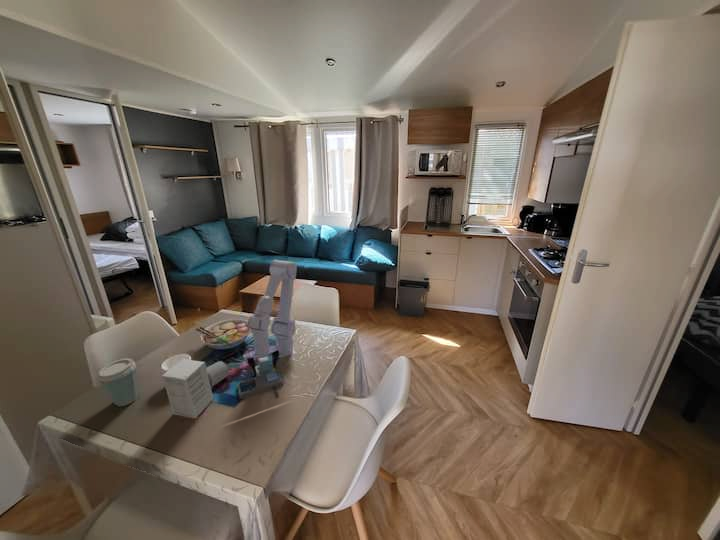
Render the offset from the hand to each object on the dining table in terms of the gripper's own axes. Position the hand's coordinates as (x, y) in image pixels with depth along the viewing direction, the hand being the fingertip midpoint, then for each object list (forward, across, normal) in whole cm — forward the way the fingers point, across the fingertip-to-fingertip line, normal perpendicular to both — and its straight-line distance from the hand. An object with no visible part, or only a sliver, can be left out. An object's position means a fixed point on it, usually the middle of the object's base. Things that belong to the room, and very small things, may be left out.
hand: (264, 369), depth 115 cm
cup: (+2, -31, +10) cm, 33 cm away
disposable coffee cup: (+2, -48, +8) cm, 49 cm away
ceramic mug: (+2, -19, +5) cm, 20 cm away
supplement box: (+2, -26, -6) cm, 27 cm away
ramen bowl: (+2, -12, +30) cm, 32 cm away
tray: (+2, 0, 0) cm, 2 cm away
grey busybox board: (+2, -3, -10) cm, 11 cm away
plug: (+1, 0, 0) cm, 1 cm away
